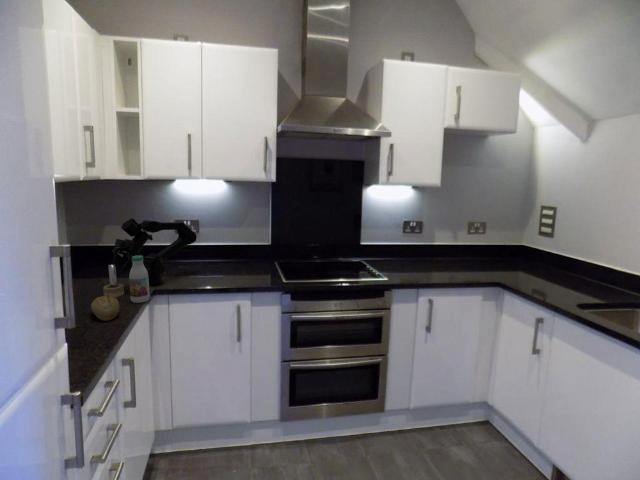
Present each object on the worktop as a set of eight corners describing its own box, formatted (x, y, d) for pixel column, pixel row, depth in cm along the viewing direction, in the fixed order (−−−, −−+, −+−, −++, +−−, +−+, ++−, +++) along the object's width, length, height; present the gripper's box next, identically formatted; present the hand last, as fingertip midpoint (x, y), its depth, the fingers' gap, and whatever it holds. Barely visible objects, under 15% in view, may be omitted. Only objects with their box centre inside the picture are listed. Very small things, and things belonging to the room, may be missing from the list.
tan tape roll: (115, 291, 191) (114, 282, 190) (127, 293, 188) (127, 285, 187) (100, 296, 183) (99, 287, 183) (113, 298, 180) (112, 289, 180)
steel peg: (114, 293, 187) (112, 264, 185) (119, 294, 186) (116, 264, 184) (109, 295, 185) (107, 265, 182) (113, 296, 184) (111, 266, 181)
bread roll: (113, 308, 169) (112, 289, 167) (124, 318, 158) (123, 298, 157) (87, 313, 163) (85, 294, 161) (97, 324, 152) (95, 304, 150)
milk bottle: (134, 297, 182) (131, 254, 178) (152, 297, 183) (149, 254, 179) (128, 303, 174) (124, 258, 171) (146, 303, 175) (143, 258, 171)
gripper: (114, 230, 192) (92, 256, 185) (136, 234, 181) (114, 262, 174) (131, 243, 200) (111, 269, 193) (153, 248, 189) (133, 276, 182)
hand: (117, 269), depth 185 cm, fingers open, 9 cm apart
